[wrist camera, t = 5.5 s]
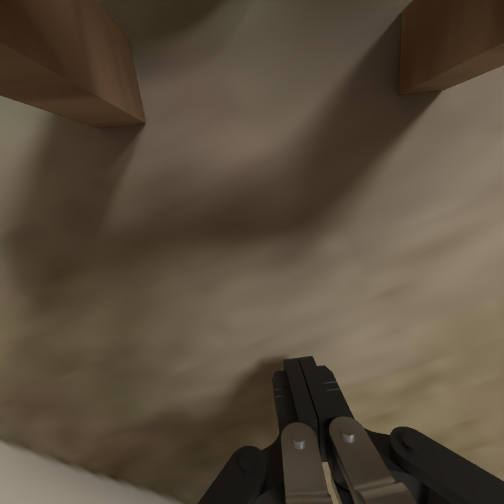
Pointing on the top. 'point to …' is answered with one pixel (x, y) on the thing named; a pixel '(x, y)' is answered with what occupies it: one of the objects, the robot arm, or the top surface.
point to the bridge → (123, 72)
